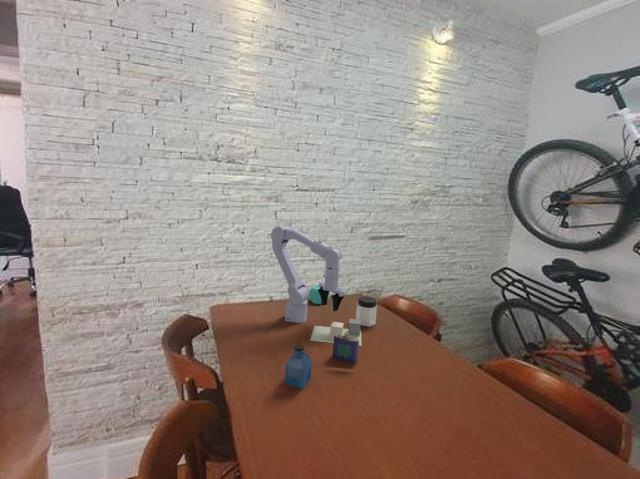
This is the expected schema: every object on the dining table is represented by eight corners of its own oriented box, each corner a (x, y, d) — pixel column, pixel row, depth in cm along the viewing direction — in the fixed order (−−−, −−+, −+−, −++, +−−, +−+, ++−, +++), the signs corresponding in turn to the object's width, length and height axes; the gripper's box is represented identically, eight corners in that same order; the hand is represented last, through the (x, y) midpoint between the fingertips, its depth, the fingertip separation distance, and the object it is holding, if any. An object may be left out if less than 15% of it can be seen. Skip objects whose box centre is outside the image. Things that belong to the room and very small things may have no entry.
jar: (366, 330, 144) (368, 303, 142) (352, 324, 150) (354, 298, 148) (378, 325, 150) (380, 299, 148) (364, 319, 156) (366, 294, 154)
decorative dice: (317, 298, 181) (318, 284, 180) (329, 301, 177) (330, 287, 176) (308, 301, 175) (309, 287, 174) (320, 305, 170) (321, 290, 169)
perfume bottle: (310, 378, 106) (312, 343, 104) (303, 389, 100) (305, 352, 98) (292, 373, 108) (294, 339, 106) (284, 384, 102) (286, 347, 100)
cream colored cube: (329, 337, 132) (330, 326, 132) (331, 333, 137) (332, 321, 136) (341, 339, 132) (342, 327, 131) (342, 334, 136) (343, 323, 135)
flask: (358, 362, 117) (360, 334, 115) (356, 366, 114) (358, 337, 113) (333, 356, 120) (335, 328, 119) (330, 360, 118) (332, 332, 116)
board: (309, 342, 130) (310, 333, 129) (314, 327, 143) (315, 319, 143) (361, 348, 128) (362, 338, 127) (361, 332, 141) (361, 323, 141)
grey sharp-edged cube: (348, 334, 136) (349, 323, 136) (348, 329, 141) (349, 318, 140) (359, 335, 136) (360, 324, 135) (359, 330, 140) (360, 319, 140)
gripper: (314, 274, 143) (312, 303, 145) (335, 282, 132) (333, 315, 134) (326, 272, 147) (325, 301, 150) (348, 280, 136) (346, 311, 138)
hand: (329, 307), depth 142 cm, fingers open, 7 cm apart
